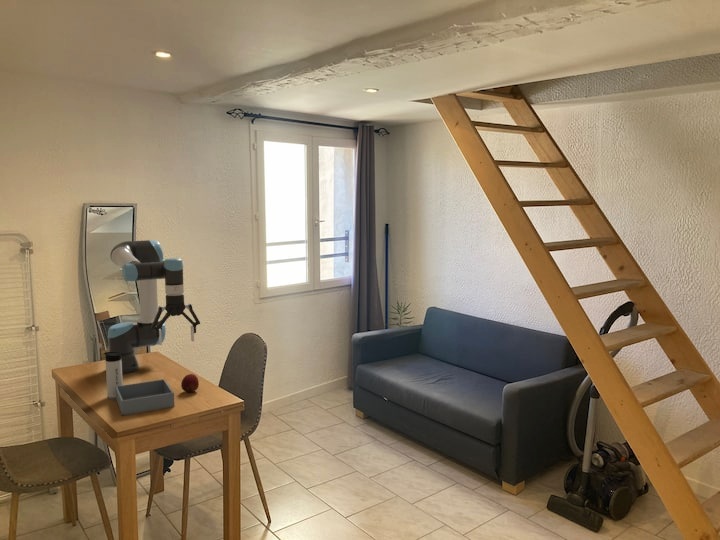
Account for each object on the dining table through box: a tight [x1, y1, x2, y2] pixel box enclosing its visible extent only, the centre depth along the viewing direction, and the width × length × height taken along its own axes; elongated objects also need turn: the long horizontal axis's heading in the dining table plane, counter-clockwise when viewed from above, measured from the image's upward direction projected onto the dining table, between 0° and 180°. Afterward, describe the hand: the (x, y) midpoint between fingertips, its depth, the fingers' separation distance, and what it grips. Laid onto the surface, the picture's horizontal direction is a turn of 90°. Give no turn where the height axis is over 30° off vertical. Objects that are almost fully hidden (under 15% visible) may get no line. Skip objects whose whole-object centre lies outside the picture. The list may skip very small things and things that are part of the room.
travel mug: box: [104, 351, 124, 401], centre depth 238 cm, size 6×7×20 cm
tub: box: [115, 378, 175, 417], centre depth 232 cm, size 20×20×6 cm
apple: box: [180, 373, 200, 393], centre depth 246 cm, size 7×8×8 cm
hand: (176, 342), depth 240 cm, fingers open, 13 cm apart
